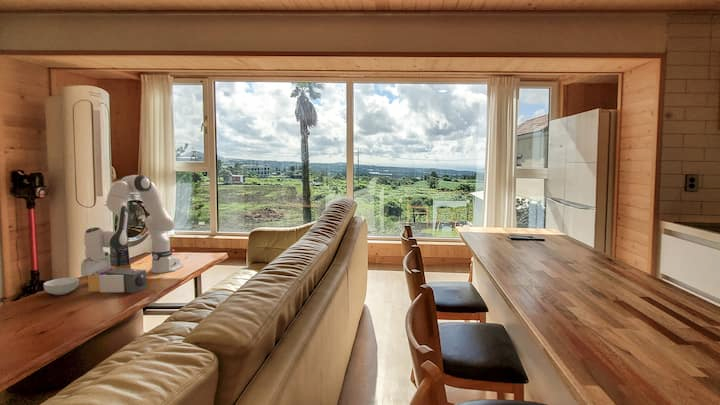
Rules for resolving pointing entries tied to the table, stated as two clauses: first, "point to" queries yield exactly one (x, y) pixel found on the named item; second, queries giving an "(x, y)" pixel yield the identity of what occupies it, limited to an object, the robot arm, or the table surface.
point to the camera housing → (131, 278)
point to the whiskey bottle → (120, 257)
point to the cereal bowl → (61, 285)
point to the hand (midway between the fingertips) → (96, 278)
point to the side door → (106, 283)
